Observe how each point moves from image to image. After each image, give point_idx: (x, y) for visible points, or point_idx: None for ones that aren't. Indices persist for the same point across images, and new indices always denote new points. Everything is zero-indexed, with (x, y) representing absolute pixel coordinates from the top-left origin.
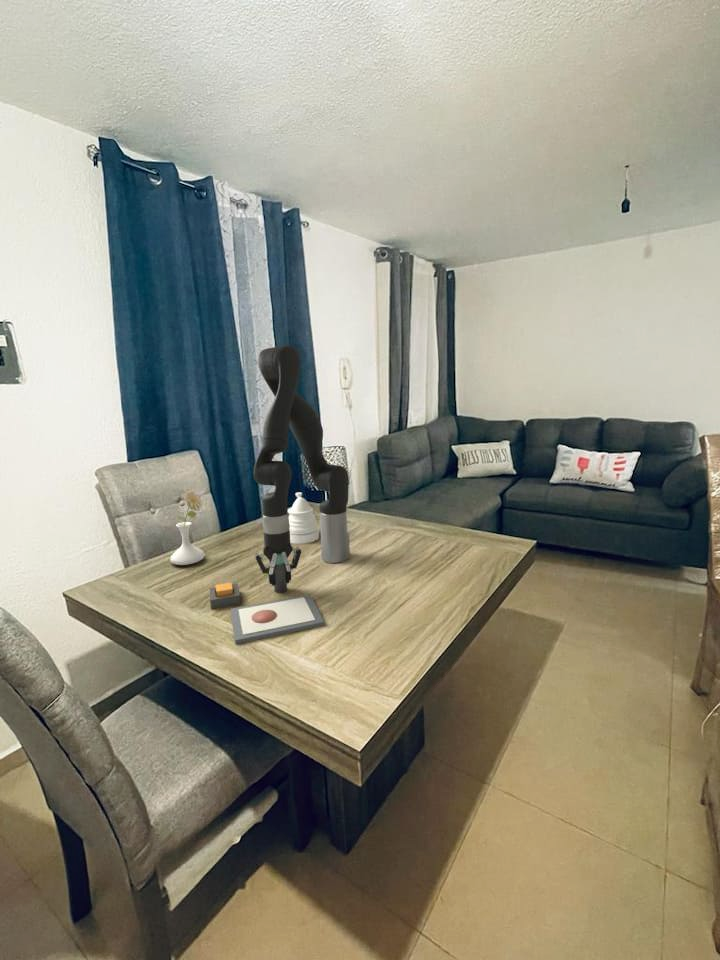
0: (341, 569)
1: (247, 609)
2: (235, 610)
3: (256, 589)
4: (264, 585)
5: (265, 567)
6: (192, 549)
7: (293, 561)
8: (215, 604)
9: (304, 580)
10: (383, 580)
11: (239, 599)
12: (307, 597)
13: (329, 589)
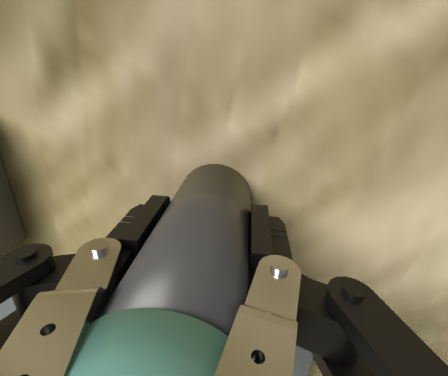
0: None
1: None
2: (10, 308)
3: (85, 128)
4: (132, 95)
5: (36, 287)
6: None
7: (363, 335)
8: None
9: (390, 142)
10: None
11: (4, 250)
12: (299, 347)
13: (441, 297)
